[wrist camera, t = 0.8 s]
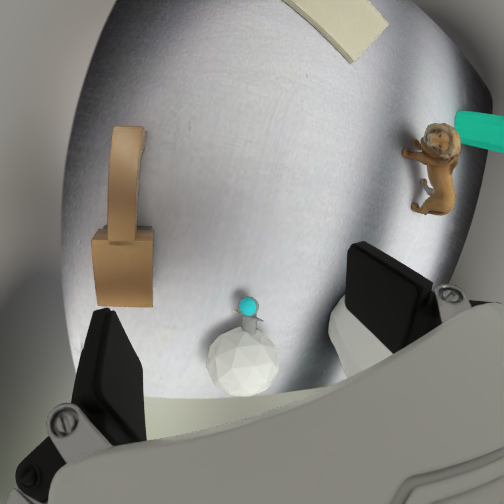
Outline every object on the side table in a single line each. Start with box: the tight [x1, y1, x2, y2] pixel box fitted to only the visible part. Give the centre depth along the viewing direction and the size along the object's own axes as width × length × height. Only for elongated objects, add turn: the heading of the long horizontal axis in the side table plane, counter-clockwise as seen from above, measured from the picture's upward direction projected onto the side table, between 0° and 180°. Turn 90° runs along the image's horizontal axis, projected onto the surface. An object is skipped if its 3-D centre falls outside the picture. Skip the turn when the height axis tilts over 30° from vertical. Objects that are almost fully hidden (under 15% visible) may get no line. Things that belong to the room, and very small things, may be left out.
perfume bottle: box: [206, 297, 279, 397], centre depth 28 cm, size 8×8×12 cm
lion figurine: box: [402, 123, 462, 215], centre depth 27 cm, size 15×5×9 cm, turn 32°
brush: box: [91, 126, 154, 307], centre depth 21 cm, size 14×5×5 cm, turn 171°
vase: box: [328, 295, 393, 378], centre depth 26 cm, size 14×14×25 cm
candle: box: [455, 111, 504, 153], centre depth 26 cm, size 6×6×12 cm
